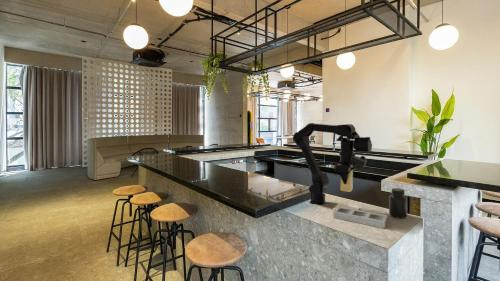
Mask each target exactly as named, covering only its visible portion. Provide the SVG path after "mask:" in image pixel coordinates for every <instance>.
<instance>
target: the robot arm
mask: <svg viewBox="0 0 500 281" xmlns="http://www.w3.org/2000/svg"><path fill="white" fill-rule="evenodd" d="M314 132H321V133H328V134H329V133H330V134H335V135H337V136H338V138H336V139H335V140H336V141H337V142H340V152H339V156H340V160H339V162H338V163H337V164H336V165H334V169H333V170H334V171H335V172H337V173H338V174H339V177H340V180H341V179H342V181H343V183H344V184H347V179H348V174H349V173H350V172H351V170H350V169H353V171H354V170H355V169H356V168H357V167H359V168H361V169H364V168H365V167H366V165H367V162H368V160H367V159H366V156H364V155H361V156H356V153H355V152H354V150H355V151H356V152H358V153H359V152H361V153H371V152H372V149H373V144H372V140H371V137H370V136H365V137H364V136H360V135H359V133H358V132H357V131H356V127H355V126H354V124H350V123H347V124H345V123H344V124H337V125H335V124H323V123H315V122H310V123H307V124H306V125H305V126H304V127H302V128H301V129H300V130H298V131H295V132H294V134H293V136H292V139H293V141H294V143H295V145H296V146H297V147H298V148H299V149H300V150H301V151H302V152H301V153H302V155H303V157H304V160H305V162H306V164H307V166H308V168H309V171H310V173H311V182H312V184H311V185H310V186H309V187H308V191H309V193H310V201H309V204H314V205H320V206H323V204H324V203H326V194H325V191H326V189H327V188H328V186H329V185H330V179H329V177H328V174H327V172H322V170H321V169H320V167H319V164H318V162H317V159H316V157H315V154H314V153H313V150H312V149H311V146H310V143H311V142H310V136H312V134H313V133H314Z"/></svg>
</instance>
